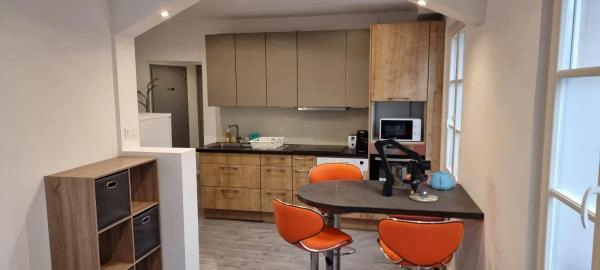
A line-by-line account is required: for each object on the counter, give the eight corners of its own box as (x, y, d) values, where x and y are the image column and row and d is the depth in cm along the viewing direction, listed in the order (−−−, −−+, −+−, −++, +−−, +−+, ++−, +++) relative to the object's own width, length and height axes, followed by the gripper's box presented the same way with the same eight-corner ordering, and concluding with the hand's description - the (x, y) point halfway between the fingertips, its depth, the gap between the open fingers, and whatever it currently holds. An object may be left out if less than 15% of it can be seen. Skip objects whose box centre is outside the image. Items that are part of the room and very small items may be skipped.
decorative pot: (439, 192, 285) (440, 173, 283) (425, 187, 300) (425, 169, 298) (457, 190, 291) (458, 172, 289) (442, 185, 306) (443, 168, 304)
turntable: (436, 202, 254) (437, 196, 254) (408, 200, 261) (408, 193, 261) (438, 196, 271) (439, 190, 270) (411, 193, 278) (411, 187, 277)
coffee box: (407, 188, 297) (407, 166, 295) (401, 189, 293) (402, 168, 291) (396, 186, 304) (397, 165, 302) (391, 187, 299) (392, 166, 298)
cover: (428, 198, 261) (428, 192, 261) (418, 197, 264) (419, 191, 263) (429, 196, 267) (429, 190, 267) (419, 195, 269) (419, 189, 269)
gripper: (415, 173, 257) (415, 197, 258) (433, 169, 267) (433, 192, 269) (402, 170, 266) (401, 193, 267) (420, 167, 276) (419, 189, 278)
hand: (414, 192), depth 270 cm, fingers closed
